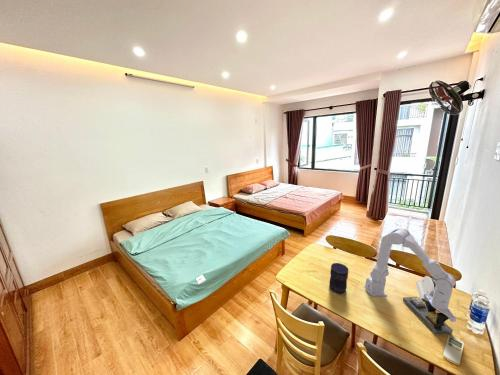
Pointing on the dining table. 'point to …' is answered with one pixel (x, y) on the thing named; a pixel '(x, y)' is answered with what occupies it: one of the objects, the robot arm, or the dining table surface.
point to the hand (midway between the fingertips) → (435, 320)
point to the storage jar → (338, 278)
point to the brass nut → (433, 317)
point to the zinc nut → (418, 303)
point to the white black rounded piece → (426, 287)
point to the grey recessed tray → (423, 315)
